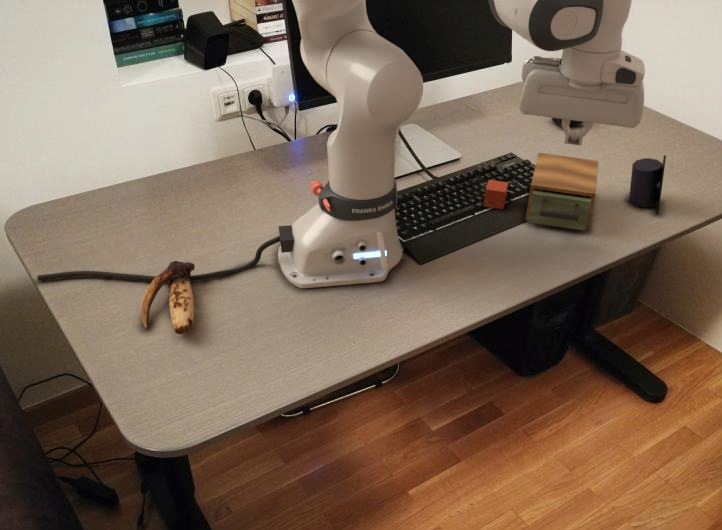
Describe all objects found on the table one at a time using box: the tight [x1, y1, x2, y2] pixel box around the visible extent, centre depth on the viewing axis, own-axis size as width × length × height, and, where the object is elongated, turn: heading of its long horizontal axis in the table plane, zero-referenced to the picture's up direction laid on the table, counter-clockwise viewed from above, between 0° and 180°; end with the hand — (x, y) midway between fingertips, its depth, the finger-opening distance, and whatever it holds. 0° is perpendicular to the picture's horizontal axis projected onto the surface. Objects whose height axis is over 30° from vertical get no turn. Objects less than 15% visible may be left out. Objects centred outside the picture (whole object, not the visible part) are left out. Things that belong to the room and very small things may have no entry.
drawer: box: [527, 189, 591, 231], centre depth 133 cm, size 18×11×6 cm, turn 167°
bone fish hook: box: [140, 260, 196, 336], centre depth 111 cm, size 9×5×18 cm
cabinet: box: [524, 152, 599, 231], centre depth 136 cm, size 14×12×8 cm
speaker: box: [628, 154, 667, 215], centre depth 138 cm, size 8×6×10 cm
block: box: [483, 179, 509, 210], centre depth 138 cm, size 4×4×4 cm
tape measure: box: [551, 118, 584, 127], centre depth 168 cm, size 7×7×4 cm
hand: (572, 143), depth 118 cm, fingers closed
